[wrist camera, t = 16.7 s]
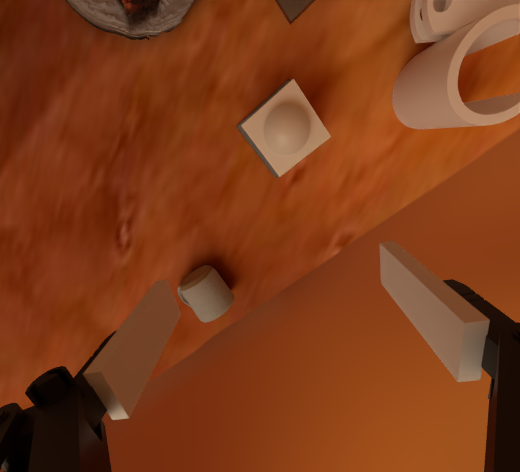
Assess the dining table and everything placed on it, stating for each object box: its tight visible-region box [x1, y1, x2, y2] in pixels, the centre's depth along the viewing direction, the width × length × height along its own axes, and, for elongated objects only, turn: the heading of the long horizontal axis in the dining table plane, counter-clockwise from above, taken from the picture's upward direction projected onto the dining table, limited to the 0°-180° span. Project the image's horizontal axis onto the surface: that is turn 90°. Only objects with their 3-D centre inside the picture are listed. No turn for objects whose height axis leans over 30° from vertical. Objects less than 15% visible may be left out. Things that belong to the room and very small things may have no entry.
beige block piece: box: [241, 79, 331, 177], centre depth 34 cm, size 8×8×9 cm
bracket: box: [392, 0, 520, 129], centre depth 28 cm, size 25×10×12 cm, turn 15°
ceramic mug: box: [178, 265, 234, 322], centre depth 46 cm, size 11×8×8 cm
